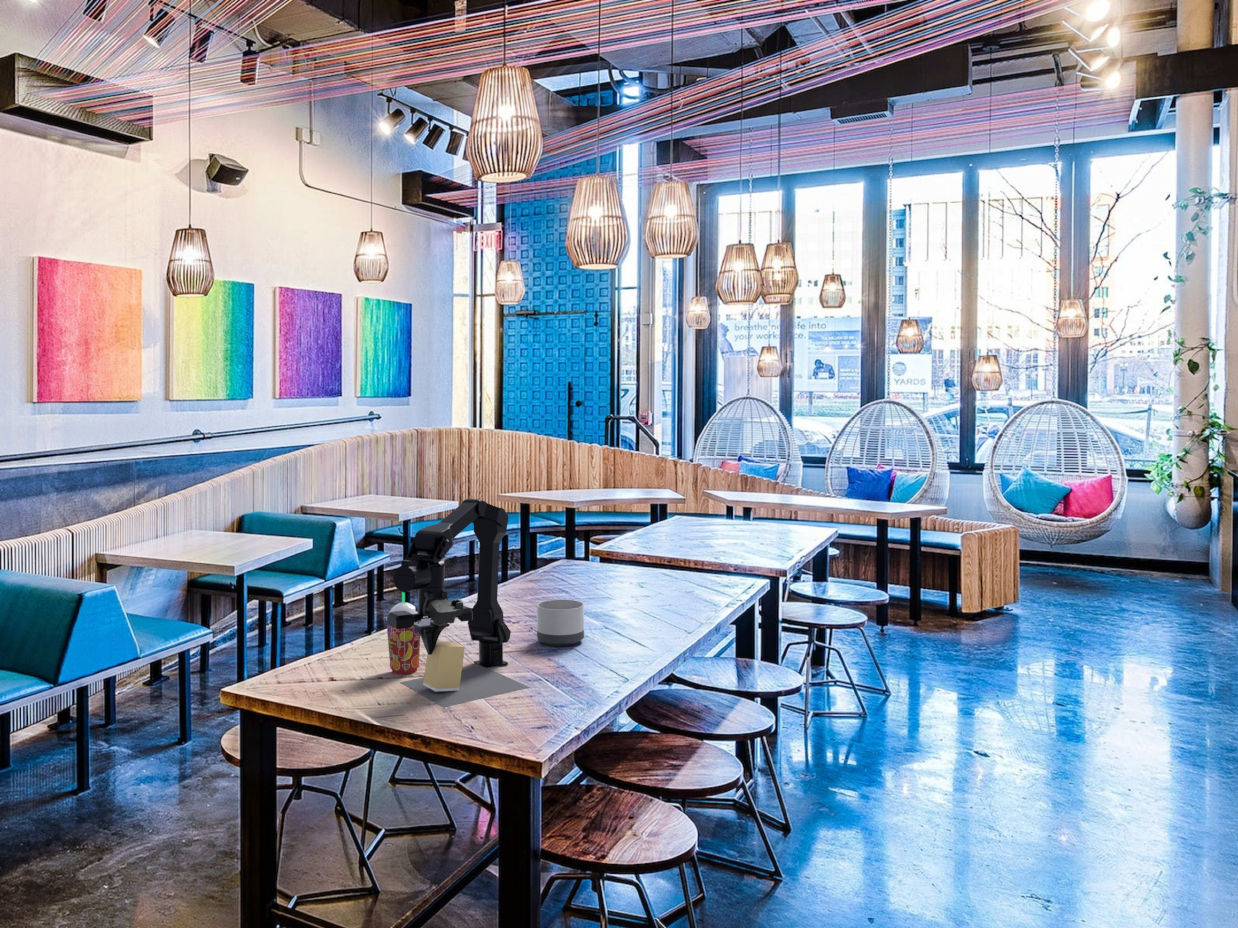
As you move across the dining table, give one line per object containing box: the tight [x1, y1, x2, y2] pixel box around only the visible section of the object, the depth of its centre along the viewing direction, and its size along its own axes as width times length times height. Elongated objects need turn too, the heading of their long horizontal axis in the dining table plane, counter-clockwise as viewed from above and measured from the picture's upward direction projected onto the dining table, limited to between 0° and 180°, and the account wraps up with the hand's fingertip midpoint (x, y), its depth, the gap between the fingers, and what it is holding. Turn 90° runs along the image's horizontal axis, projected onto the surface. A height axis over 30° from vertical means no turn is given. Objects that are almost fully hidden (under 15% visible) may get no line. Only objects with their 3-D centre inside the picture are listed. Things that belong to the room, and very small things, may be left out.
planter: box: [536, 598, 585, 647], centre depth 254 cm, size 13×13×10 cm
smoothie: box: [385, 592, 421, 675], centre depth 226 cm, size 8×8×20 cm
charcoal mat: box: [399, 665, 531, 708], centre depth 215 cm, size 22×22×1 cm
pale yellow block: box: [423, 640, 466, 692], centre depth 212 cm, size 6×6×10 cm
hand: (429, 654), depth 209 cm, fingers closed
